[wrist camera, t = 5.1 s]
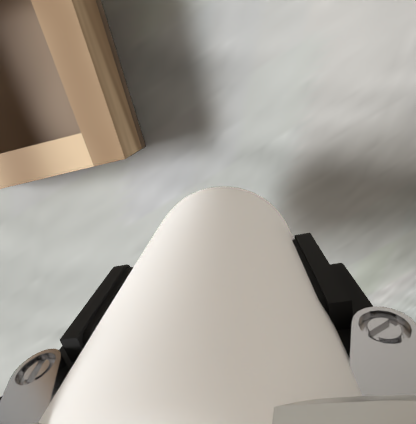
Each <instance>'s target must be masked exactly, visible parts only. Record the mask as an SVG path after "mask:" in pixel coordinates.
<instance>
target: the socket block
mask: <svg viewBox="0 0 416 424" xmlns="http://www.w3.org/2000/svg"><path fill="white" fill-rule="evenodd" d="M144 147H146V145H145V142H144V139H143V136H142V132H141V129H140V126H139V123H138V119H137V116H136V113H135V110H134V106H133V103H132V100H131V97H130V93H129V90H128V87H127V84H126V80H125V77H124V74H123V71H122V67H121V64H120V61H119V58H118V54H117V51H116V48H115V45H114V41H113V38H112V35H111V32H110V28H109V25H108V22H107V19H106V15H105V12H104V9H103V6H102V2H101V0H0V189H2V188H6V187H10V186H14V185H18V184H23V183H27V182H31V181H35V180H39V179H43V178H48V177H52V176H56V175H60V174H64V173H68V172H73V171H77V170H81V169H85V168H89V167H93V166H98V165H102V164H106V163H110V162H114V161H118V160H123V159H126V158H127V157H129V156H131V155H132V154H134V153H136V152H137V151H139V150H141V149H143V148H144Z"/></svg>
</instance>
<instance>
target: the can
mask: <svg viewBox="0 0 416 424" xmlns="http://www.w3.org/2000/svg"><path fill="white" fill-rule="evenodd" d="M293 239H294V238H293V236H292V234H291V231H290V229H289V227H288V226H287V224H286V222H285V220H284V218H283V217H282V216H281V214H280V213H279V212H278V210H277V209H276V208H275V207H274V206H273V205H272V204H271V203H269V202H268V201H267V200H265V199H264V198H262V197H261V196H259V195H257V194H255V193H253V192H250V191H247V190H244V189H240V188H235V187H212V188H207V189H203V190H200V191H197V192H195V193H193V194H190V195H189V196H187V197H185V198H184V199H182V200H181V201H180V202H179V203H177V204H176V205H175V206H174V207H173V208H172V209H171V211H170V212H169V213H168V214H167V216H166V217H165V218H164V220H163V221H162V223H161V224H160V226H159V227H158V229H157V231H156V232H155V234H154V235H153V237H152V238H151V240H150V242H149V243H148V245H147V246H146V248H145V250H144V251H143V253H142V254H141V256H140V258H139V259H138V261H137V262H136V264H135V266H134V267H133V269H132V271H131V272H130V274H129V275H128V277H127V279H126V280H125V282H124V283H123V285H122V287H121V288H120V290H119V291H118V293H117V295H116V296H115V298H114V300H113V301H112V303H111V304H110V306H109V308H108V309H107V311H106V313H105V314H104V316H103V317H102V319H101V321H100V322H99V324H98V326H97V327H96V329H95V330H94V332H93V334H92V335H91V337H90V339H89V340H88V342H87V343H86V345H85V347H84V348H83V350H82V352H81V353H80V355H79V356H78V358H77V360H76V361H75V363H74V365H73V366H72V368H71V369H70V371H69V373H68V374H67V376H66V378H65V379H64V381H63V383H62V384H61V386H60V388H59V389H58V391H57V392H56V394H55V396H54V397H53V399H52V401H51V402H50V404H49V406H48V407H47V409H46V411H45V412H44V414H43V415H42V417H41V419H40V420H39V422H38V423H41V424H272V420H273V413H274V407H276V406H280V405H285V404H290V403H294V402H300V401H306V400H313V399H323V398H339V397H354V396H362V394H361V392H360V389H359V387H358V385H357V382H356V380H355V378H354V376H353V373H352V371H351V369H350V367H349V363H350V359H349V356H348V354H347V352H346V350H345V348H344V346H343V343H342V341H341V339H340V337H339V335H338V332H337V330H336V328H335V326H334V324H333V323H332V321H331V319H330V317H329V315H328V314H327V312H326V311H325V309H324V308H323V306H322V305H321V303H320V301H319V300H318V298H317V295H316V293H315V291H314V289H313V286H312V284H311V282H310V280H309V277H308V275H307V273H306V271H305V268H304V266H303V264H302V262H301V259H300V257H299V255H298V253H297V250H296V248H295V246H294V244H293V241H292V240H293Z"/></svg>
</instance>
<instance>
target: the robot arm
mask: <svg viewBox="0 0 416 424" xmlns="http://www.w3.org/2000/svg"><path fill="white" fill-rule="evenodd" d="M292 241H293V244H294V246H295V248H296V250H297V253H298V255H299V257H300V259H301V262H302V264H303V266H304V268H305V271H306V273H307V275H308V277H309V280H310V282H311V284H312V286H313V289H314V291H315V293H316V295H317V298H318V300H319V301H320V303H321V305H322V306H323V308H324V309H325V311H326V312H327V314H328V315H329V317H330V319H331V321H332V323H333V324H334V326H335V328H336V330H337V332H338V335H339V337H340V339H341V341H342V343H343V346H344V348H345V350H346V352H347V354H348V356H349V359H350V363H349V367H350V369H351V371H352V373H353V376H354V378H355V380H356V382H357V385H358V387H359V389H360V392H361V394H362V396H354V397H339V398H323V399H313V400H306V401H300V402H294V403H290V404H285V405H280V406H276V407H274V413H273V420H272V424H416V323H415V322H414V321H413V320H412V319H411V317H409V316H407V315H406V314H404V313H402V312H400V311H397V310H395V309H392V308H387V307H373V305H372V304H371V303H370V301H369V300H368V298H367V297H366V296H365V294H364V293H363V291H362V290H361V289H360V287H359V286H358V284H357V283H356V281H355V280H354V279H353V277H352V276H351V274H350V273H349V272H348V270H347V269H346V267H345V266H344V265H343V264H342V263H337V264H331V265H330V264H329V263H328V261H327V259H326V258H325V256H324V255H323V253H322V251H321V250H320V248H319V246H318V245H317V243H316V242H315V240H314V238H313V237H312V235H311V234H310V233H306V234H300V235H295V239H293V240H292ZM132 269H133V267H130V266H129V265H122V266H116V267H113V269H112V270H111V271H110V273H109V274H108V275H107V277H106V278H105V279H104V281H103V282H102V283H101V285H100V286H99V287H98V289H97V290H96V292H95V293H94V294H93V296H92V297H91V298H90V300H89V301H88V302H87V304H86V305H85V306H84V308H83V309H82V310H81V312H80V313H79V314H78V316H77V317H76V319H75V320H74V321H73V323H72V324H71V325H70V327H69V328H68V329H67V331H66V332H65V333H64V335H63V336H62V337H61V339H60V341H61V343H62V345H63V346H62V347H61V349H60V350H57V349H47V350H44V351H41V352H39V353H37V354H35V355H33V356H32V357H30V358H28V359H27V360H26V361H25V362H23V363H22V364H21V365H20V366H19V367H18V368H17V369H16V370H15V371H14V373H13V374H12V376H11V378H10V380H9V382H8V384H7V387H6V389H5V391H4V394H3V396H2V397H0V424H41V423H38V422H39V420H40V419H41V417H42V415H43V414H44V412H45V411H46V409H47V407H48V406H49V404H50V402H51V401H52V399H53V397H54V396H55V394H56V392H57V391H58V389H59V388H60V386H61V384H62V383H63V381H64V379H65V378H66V376H67V374H68V373H69V371H70V369H71V368H72V366H73V365H74V363H75V361H76V360H77V358H78V356H79V355H80V353H81V352H82V350H83V348H84V347H85V345H86V343H87V342H88V340H89V339H90V337H91V335H92V334H93V332H94V330H95V329H96V327H97V326H98V324H99V322H100V321H101V319H102V317H103V316H104V314H105V313H106V311H107V309H108V308H109V306H110V304H111V303H112V301H113V300H114V298H115V296H116V295H117V293H118V291H119V290H120V288H121V287H122V285H123V283H124V282H125V280H126V279H127V277H128V275H129V274H130V272H131V271H132Z"/></svg>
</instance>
